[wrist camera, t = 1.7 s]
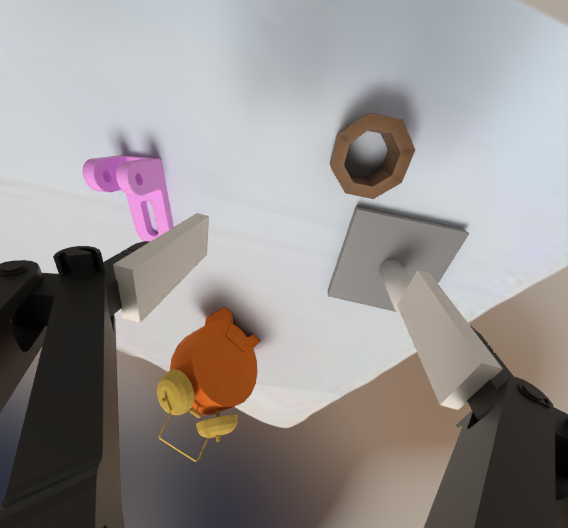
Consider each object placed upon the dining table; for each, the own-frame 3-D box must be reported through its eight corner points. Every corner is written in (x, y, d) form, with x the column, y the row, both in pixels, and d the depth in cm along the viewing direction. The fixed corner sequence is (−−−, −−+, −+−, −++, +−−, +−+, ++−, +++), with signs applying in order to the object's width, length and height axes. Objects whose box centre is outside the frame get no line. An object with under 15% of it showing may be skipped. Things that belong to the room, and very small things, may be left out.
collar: (342, 112, 26) (346, 108, 22) (408, 125, 26) (425, 124, 21) (325, 180, 30) (325, 189, 25) (383, 192, 29) (393, 203, 25)
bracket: (123, 155, 32) (77, 160, 26) (161, 158, 32) (123, 164, 26) (145, 241, 39) (112, 261, 33) (177, 245, 38) (150, 266, 32)
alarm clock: (198, 313, 45) (119, 427, 27) (219, 300, 42) (147, 415, 25) (244, 355, 49) (201, 478, 31) (266, 345, 46) (232, 472, 29)
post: (355, 206, 31) (367, 232, 23) (463, 228, 30) (515, 264, 22) (327, 290, 38) (329, 334, 30) (414, 310, 37) (439, 360, 29)
